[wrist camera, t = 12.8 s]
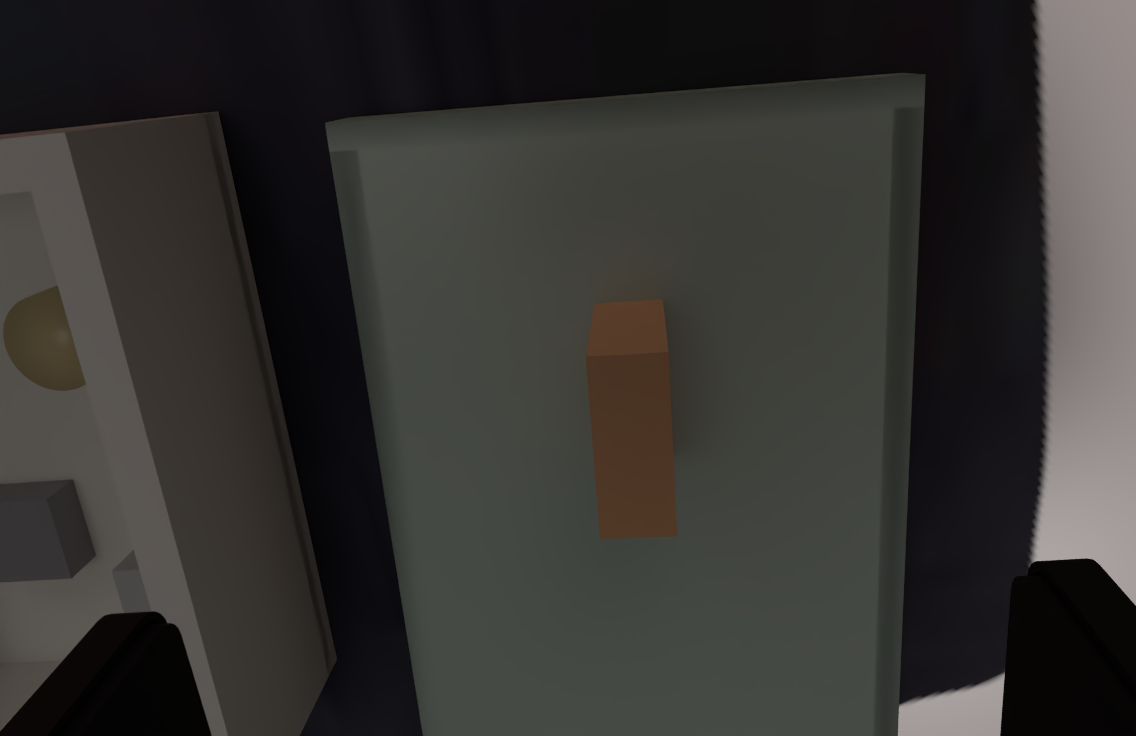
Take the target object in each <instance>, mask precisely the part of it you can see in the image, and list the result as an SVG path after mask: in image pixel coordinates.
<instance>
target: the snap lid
mask: <svg viewBox="0 0 1136 736" xmlns="http://www.w3.org/2000/svg"><path fill="white" fill-rule="evenodd" d="M924 99H925V74H911V73H894V74H881V75H869V76H857V77H844V78H832V79H820V80H807V81H795V82H783V83H770V84H758V85H746V86H733V87H721V88H708V89H696V90H684V91H671V92H659V93H647V94H634V95H622V96H610V97H597V98H585V99H573V100H560V101H548V102H535V103H523V104H511V105H498V106H486V107H474V108H461V109H449V110H437V111H424V112H412V113H400V114H387V115H375V116H362V117H350V118H345V119H340V120H336V121H331V122H327V123H325V126H326V132H327V139H328V145H329V151H330V157H331V164H332V170H333V176H334V182H335V189H336V195H337V201H338V207H339V214H340V220H341V226H342V232H343V239H344V245H345V251H346V257H347V264H348V270H349V276H350V282H351V289H352V295H353V301H354V307H355V313H356V320H357V326H358V332H359V338H360V345H361V351H362V357H363V363H364V370H365V376H366V382H367V388H368V395H369V401H370V407H371V413H372V420H373V426H374V432H375V438H376V445H377V451H378V457H379V463H380V470H381V476H382V482H383V488H384V495H385V501H386V507H387V513H388V520H389V526H390V532H391V538H392V545H393V551H394V557H395V563H396V570H397V576H398V582H399V588H400V595H401V601H402V607H403V613H404V620H405V626H406V632H407V638H408V645H409V651H410V657H411V663H412V670H413V676H414V682H415V688H416V695H417V701H418V707H419V713H420V719H421V726H422V732H423V736H898V713H899V690H900V666H901V642H902V619H903V595H904V571H905V548H906V524H907V501H908V477H909V453H910V430H911V406H912V383H913V359H914V335H915V312H916V288H917V264H918V241H919V217H920V194H921V170H922V146H923V123H924Z"/></svg>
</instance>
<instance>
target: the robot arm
mask: <svg viewBox="0 0 1136 736" xmlns="http://www.w3.org/2000/svg"><path fill="white" fill-rule="evenodd" d="M0 736H212V735H211V731H210V728H209V725H208V721H207V718H206V715H205V711H204V708H203V705H202V701H201V698H200V695H199V691H198V688H197V685H196V681H195V678H194V675H193V671H192V668H191V665H190V661H189V658H188V655H187V651H186V648H185V645H184V642H183V638H182V635H181V632H180V630H179V628H178V627H177V626H176V625H175V624H172V623H167V621H166V619H165V618H164V617H163V616H162V614H161V613H158V612H155V611H150V612H133V613H115V614H108V615H104V616H103V617H102V618H101V619H99V620H98V621H97V622H96V623H95V625H94V626H93V627H92V628H91V629H90V630H89V631H88V632H87V634H86V635H85V636H84V637H83V638H82V639H81V640H80V642H79V643H78V644H77V645H76V646H75V647H74V648H73V649H72V651H71V652H70V653H69V654H68V655H67V656H66V657H65V658H64V660H63V661H62V662H61V663H60V664H59V665H58V666H57V668H56V669H55V670H54V671H53V672H52V673H51V674H50V675H49V677H48V678H47V679H46V680H45V681H44V682H43V683H42V684H41V686H40V687H39V688H38V689H37V690H36V691H35V692H34V694H33V695H32V696H31V697H30V698H29V699H28V700H27V701H26V703H25V704H24V705H23V706H22V707H21V708H20V709H19V711H18V712H17V713H16V714H15V715H14V716H13V717H12V718H11V720H10V721H9V722H8V723H7V724H6V725H5V726H4V727H3V729H2V730H1V731H0ZM1000 736H1136V606H1135V605H1134V603H1133V602H1132V601H1131V600H1130V599H1129V598H1128V597H1127V595H1126V594H1125V593H1124V592H1123V591H1122V590H1121V589H1120V587H1118V585H1117V584H1116V583H1115V582H1114V581H1113V580H1112V578H1111V577H1110V576H1109V575H1108V574H1107V573H1106V572H1105V570H1104V569H1103V568H1102V567H1101V566H1100V565H1099V564H1098V563H1097V562H1096V561H1094V560H1092V559H1070V560H1054V561H1035V562H1034V563H1032V564H1031V566H1030V568H1029V570H1028V574H1027V576H1017V577H1016V578H1014V580H1013V582H1012V587H1011V598H1010V611H1009V625H1008V639H1007V652H1006V666H1005V680H1004V694H1003V707H1002V721H1001V734H1000Z"/></svg>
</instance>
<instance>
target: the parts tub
mask: <svg viewBox="0 0 1136 736" xmlns="http://www.w3.org/2000/svg"><path fill="white" fill-rule="evenodd" d="M150 611H155V612H158V613H161V614H162V616H163V617H164V618H165V619H166V621H167V623H172V624H175V625H176V626H177V627H178V628H179V630H180V632H181V635H182V638H183V642H184V645H185V648H186V651H187V655H188V658H189V661H190V665H191V668H192V671H193V675H194V678H195V681H196V685H197V688H198V691H199V695H200V698H201V701H202V705H203V708H204V711H205V715H206V718H207V721H208V725H209V728H210V731H211V735H212V736H300V734H301V732H302V730H303V728H304V726H305V723H306V721H307V719H308V717H309V715H310V713H311V711H312V709H313V707H314V705H315V703H316V701H317V699H318V697H319V695H320V693H321V691H322V689H323V687H324V685H325V683H326V681H327V679H328V677H329V675H330V673H331V671H332V669H333V667H334V665H335V663H336V661H337V656H336V652H335V647H334V643H333V638H332V633H331V629H330V624H329V620H328V615H327V610H326V606H325V601H324V596H323V592H322V587H321V583H320V578H319V573H318V569H317V564H316V560H315V555H314V550H313V546H312V541H311V537H310V532H309V527H308V523H307V518H306V513H305V509H304V504H303V500H302V495H301V490H300V486H299V481H298V477H297V472H296V467H295V463H294V458H293V454H292V449H291V444H290V440H289V435H288V430H287V426H286V421H285V417H284V412H283V407H282V403H281V398H280V394H279V389H278V384H277V380H276V375H275V371H274V366H273V361H272V357H271V352H270V347H269V343H268V338H267V334H266V329H265V324H264V320H263V315H262V311H261V306H260V301H259V297H258V292H257V287H256V283H255V278H254V274H253V269H252V264H251V260H250V255H249V251H248V246H247V241H246V237H245V232H244V228H243V223H242V218H241V214H240V209H239V204H238V200H237V195H236V191H235V186H234V181H233V177H232V172H231V168H230V163H229V158H228V154H227V149H226V145H225V140H224V135H223V131H222V126H221V121H220V117H219V112H218V111H217V112H208V113H199V114H190V115H180V116H171V117H162V118H152V119H143V120H134V121H125V122H115V123H106V124H97V125H87V126H78V127H69V128H60V129H50V130H41V131H32V132H22V133H13V134H4V135H0V731H1V730H2V729H3V727H4V726H5V725H6V724H7V723H8V722H9V721H10V720H11V718H12V717H13V716H14V715H15V714H16V713H17V712H18V711H19V709H20V708H21V707H22V706H23V705H24V704H25V703H26V701H27V700H28V699H29V698H30V697H31V696H32V695H33V694H34V692H35V691H36V690H37V689H38V688H39V687H40V686H41V684H42V683H43V682H44V681H45V680H46V679H47V678H48V677H49V675H50V674H51V673H52V672H53V671H54V670H55V669H56V668H57V666H58V665H59V664H60V663H61V662H62V661H63V660H64V658H65V657H66V656H67V655H68V654H69V653H70V652H71V651H72V649H73V648H74V647H75V646H76V645H77V644H78V643H79V642H80V640H81V639H82V638H83V637H84V636H85V635H86V634H87V632H88V631H89V630H90V629H91V628H92V627H93V626H94V625H95V623H96V622H97V621H98V620H99V619H101V618H102V617H103V616H104V615H108V614H115V613H133V612H150Z"/></svg>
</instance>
